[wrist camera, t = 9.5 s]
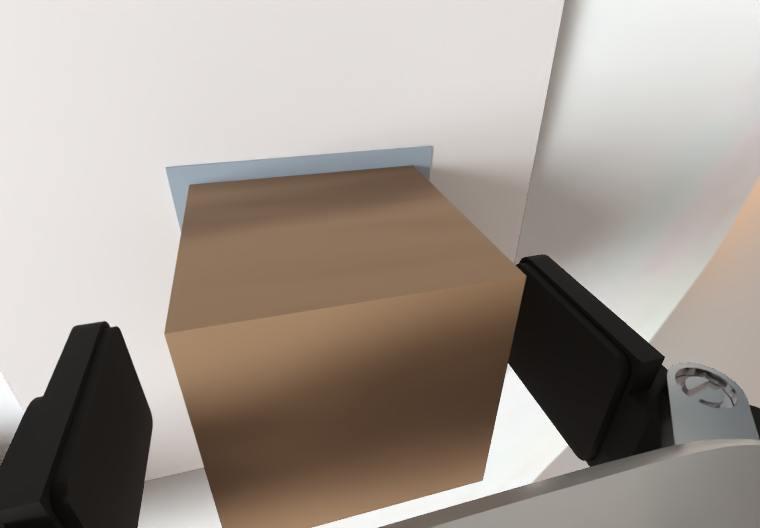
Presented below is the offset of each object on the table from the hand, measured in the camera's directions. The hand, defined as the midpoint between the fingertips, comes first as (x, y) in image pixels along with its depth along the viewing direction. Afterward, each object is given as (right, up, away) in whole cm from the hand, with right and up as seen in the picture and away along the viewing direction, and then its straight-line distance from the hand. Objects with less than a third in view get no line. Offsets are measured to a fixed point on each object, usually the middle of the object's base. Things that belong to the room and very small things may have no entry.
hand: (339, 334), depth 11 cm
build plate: (-2, +2, +4) cm, 5 cm away
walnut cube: (-1, +2, +3) cm, 3 cm away
